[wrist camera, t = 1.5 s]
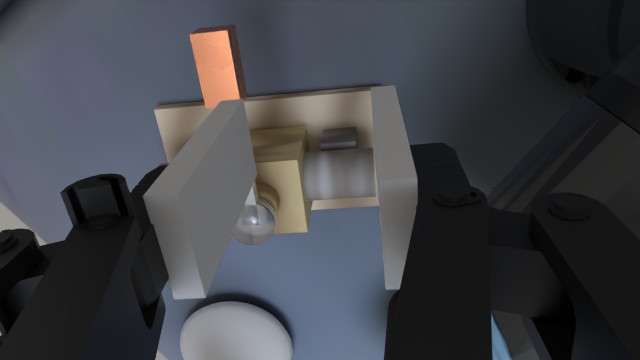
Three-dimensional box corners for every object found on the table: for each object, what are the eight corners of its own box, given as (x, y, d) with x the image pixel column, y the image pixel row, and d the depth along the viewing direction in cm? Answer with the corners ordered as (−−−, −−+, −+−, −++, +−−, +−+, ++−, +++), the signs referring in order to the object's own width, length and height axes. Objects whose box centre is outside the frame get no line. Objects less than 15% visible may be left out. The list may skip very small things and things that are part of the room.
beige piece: (381, 85, 38) (388, 132, 29) (387, 198, 43) (396, 269, 34) (159, 105, 40) (101, 155, 31) (187, 211, 45) (143, 282, 36)
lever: (279, 233, 33) (276, 249, 31) (235, 236, 33) (229, 251, 31) (243, 23, 27) (236, 29, 25) (190, 29, 27) (180, 35, 26)
